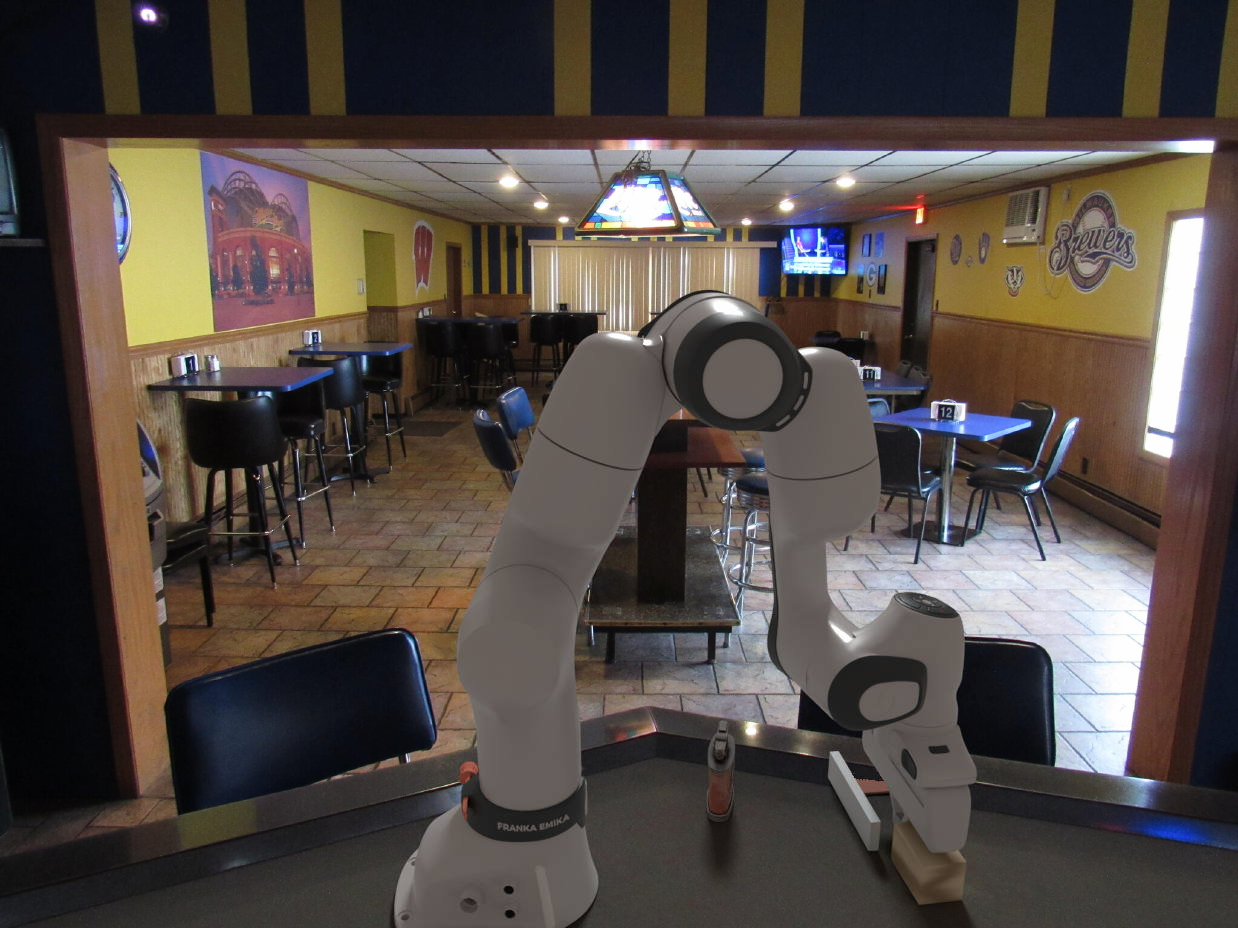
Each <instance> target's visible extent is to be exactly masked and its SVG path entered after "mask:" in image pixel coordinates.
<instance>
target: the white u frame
mask: <svg viewBox="0 0 1238 928" xmlns="http://www.w3.org/2000/svg"><path fill="white" fill-rule="evenodd" d="M852 774H853V773H852V771H851V770H850V768H849V767H848V764H847V762H845V759H844V758H843V756H842V755H841V753H840V751H839V750H837V751H835V750H834V751H829V759H828V772H827V778H828V780H829V782H830V784H831V785H832V787H833V789H834V791H835V793H836V795H837V796H838V798H839V800H840V802H841V804H842V806H843V807H844V809H845V812H846V814H847V815H848V816H849V819H850V820H851V822H852V824H853V826H854V828H855V829H856V831H857V833H858V834H859V837H860V839H861V840H862V842H863V844H864V845H865V847H866V849H867V851H868V852H873V851H879V844H880V836H881V835H880V833H881V832H880V831H881V822H882V821H881V820H880V818H879V816H878V815H877V813H876V812H875V810H874V808H873V807H872V805H871V803H870V802H869V800H868V798H867V796H866V795H864V793H863V791H862V790H861V788H860V786H859V785H858V783H857V781H856V780H855V778H854V776H853V775H852Z"/></svg>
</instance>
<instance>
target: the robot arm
mask: <svg viewBox="0 0 1238 928" xmlns="http://www.w3.org/2000/svg"><path fill="white" fill-rule="evenodd" d="M684 409H685V410H686V411H687V412H688V413H690V415H691V416H692V417H693V418H695V419H696V420H698V422H699V421H700V422H701V423H703V424H705V425H707V426H709V427H712V428H715V429H719V430H722V431H723V430H724V431H728V432H729V431H730V432H746V431H747V432H749V431H750V432H758V434H759V438H760V439H761V445H762V446H761V447H762V454H763V460H764V461H763V462H764V468H765V474H766V481H767V488H768V494H769V503H770V505H769V511H768V538H769V540H768V542H769V554H770V555H769V556H770V563H771V564H770V566H771V567H770V568H771V579H772V580H771V581H772V588H773V589H772V590H773V591H772V593H773V603H772V604H773V606H772V612H771V617H770V621H769V626H768V631H767V636H766V647H767V653H768V656H769V659H770V661H771V663H772V664H773V665H774V666H775V668H776V669H777V670H778V671H780V673H782V674H783V675H784V676H785V677H787V678H788V679H790V680H791V681H792V682H793V683H795V684H796V685H797V686H798V687H799V688H800V689H801V690H802V691H803V692H804V693H805V694H806V695H807V696H808V697H809V698H810V699H811V700H812V701H813V702H814V703H815V704H816V705H817V706H818V707H819V708H820V709H821V710H823V712H825V713H826V714H827V715H828V717H830V718H831V719H832V720H833V721H834V722H835V723H836V724H838V725H839V726H840V727H842V728H844V729H847V730H850V731H853V732H854V731H856V732H857V731H860V732H861V731H862V736H861V737H862V738H861V740H862V741H861V742H862V747H863V751H864V752H865V754H866V756H867V757H868V759H869V760H870V762H871V763H872V765H873V767H875V769H876V772H879V774H880V776H881V777H882V779H883V780H884V782H885V783H886V785H887V786H888V788H889V789H890V790H889V792H890V793H889V797H890V801H891V806H892V807H891V808H892V818H891V819H892V822H893V824H894V823H900V822H911V823H912V825H913V826H914V828H915V829H916V831H917V832H918V834H919V835H920V837H921V839H922V840H923V842H924V843H925V845H926V846H927V848H928V849H929V851H930V852H932V853H946V852H954V851H960V850H962V849H963V848H964V847H965V845H966V841H967V838H968V834H969V833H968V831H969V826H970V817H971V810H972V809H971V808H972V798H971V791H970V788H969V785H972V784H975V783H976V781H977V776H978V774H977V773H978V772H977V771H978V769H977V766H976V763H974V761H973V758H972V756H971V755H970V753H969V751H968V749H967V746H966V743H965V741H964V739H963V735H962V732H961V728H960V726H959V725H958V724H957V723H958V717H959V715H958V714H959V707H958V702H957V692H958V689H959V687H960V685H961V683H962V680H963V673H964V672H963V671H964V661H965V642H966V641H965V628H964V624H963V619H962V616H961V615H960V614H959V612H958V611H957V610H956V609H955V608H954V607H952V606H950V605H949V604H947V603H946V602H944V601H943V600H941V599H939V598H937V597H934V596H931V595H928V594H926V593H921V592H914V591H903V592H897V593H895V594H894V595H892V597H891V599H890V601H889V603H888V606H887V607H886V609H884V611H882V612H881V613H880V614H879V615H878V616H877V617H876V618H874V619H873V620H872V621H871V622H869V623H867V624H866V625H864V626H862V627H859V626H858V625H856V624H854V622H852V621H851V620H850V619H848V617H846V615H844V614H843V613H842V611H840V609H839V608H838V607H837V605H836V604H835V603H834V602H833V600H832V598H831V596H830V594H829V587H828V568H827V567H828V565H827V563H828V562H827V547H826V545H827V544H828V543H832V542H836V541H839V540H841V539H844V538H846V537H850V536H851V535H853V534H855V533H857V532H858V531H859V530H861V529H862V528H864V527H865V526H866V524H868V523H869V521H870V520H871V519H872V518H873V517H874V515H875V514H876V512H877V511H878V508H879V507H880V506H879V505H880V499H881V491H882V489H881V488H882V477H881V476H882V474H881V467H880V457H879V451H878V444H877V443H878V442H877V437H876V431H875V426H874V421H873V415H872V412H871V411H872V410H871V407H870V404H869V400H868V396H867V393H866V390H865V386H864V384H863V381H862V378H861V376H860V373H859V369H858V367H857V365H856V364H855V362H854V361H853V360H852V359H851V358H850V357H849V356H847V355H846V354H845V353H843V352H842V351H839V350H836V349H834V348H829V347H822V346H807V347H802V348H799V349H798V348H797V347H796V345H794V343H793V342H792V341H791V340H790V338H789V337H788V335H787V334H786V333H785V332H784V330H783V329H781V328H780V327H779V326H778V325H777V324H776V323H775V322H774V321H772V320H771V319H770V318H769V317H766V316H765V315H764V314H763V312H762V311H761V310H760V309H758V307H756V306H755V305H753V304H752V303H750V302H749V301H747V300H745V299H743V298H741V297H737V296H735V295H732V294H730V293H727V292H726V291H722V290H716V289H700V290H695V291H691V292H689V293H686V294H683V295H682V296H681V297H679V298H677V299H675V300H674V301H673V302H672V303H670V304H669V305H668V306H667V307H666V308H665V309H663V310H662V311H661V312H660V313H659V314H658V315H656V316H655V317H654V318H653V319H651V320H650V321H649V322H648V323H647V324H645V325H644V326H643V327H642V328H640V330H639V331H638V333H637V335H636V336H635V335H632V334H630V333H624V332H619V331H601V332H596V333H592V334H591V335H588V336H586V337H585V338H584V339H582V340H581V341H580V342H579V344H578V345H577V346H576V347H575V349H574V351H573V352H572V354H571V355H570V357H569V358H568V360H567V362H565V365H564V367H563V369H562V371H561V373H560V374H559V376H558V377H557V380H556V382H555V384H554V385H553V388H552V389H551V391H550V394H549V396H548V398H547V400H546V402H545V404H544V406H543V409H542V412H541V414H540V416H539V419H538V423H537V425H536V428H535V430H534V433H533V435H532V438H531V440H530V444H529V445H528V449H527V452H526V453H525V456H524V460H523V463H522V465H521V468H520V470H519V474H518V475H517V478H516V481H515V484H514V487H513V489H512V490H511V491H512V492H511V494H510V497H509V500H508V503H507V506H506V510H505V513H504V516H503V518H502V521H501V525H500V527H499V530H498V533H497V536H496V539H495V542H494V544H493V548H492V549H491V553H490V556H489V557H488V558H489V559H488V561H487V563H486V566H485V568H484V571H483V573H482V576H481V578H480V581H479V582H478V585H477V587H476V589H475V592H474V593H473V596H472V598H471V601H469V602H470V603H469V605H468V606H467V609H466V612H465V614H464V615H463V618H462V620H461V623H460V625H459V629H458V635H457V647H456V672H457V676H458V679H459V682H460V683H461V686H462V687H463V689H464V690H465V692H466V693H467V694H468V698H469V700H470V701H469V702H470V705H471V708H472V712H473V717H474V724H475V733H476V747H477V750H476V751H477V764H476V762H474V761H466V762H463V763H462V765H461V766H460V768H459V773H460V774H459V777H458V779H459V782H460V784H461V785H462V786H461V789H460V790H461V791H460V803H458V804H457V805H456V806H454V807H452V808H451V809H449V810H447V811H446V812H445V813H443V814H441V815H440V816H438V817H436V818H435V819H433V821H432V822H431V823H430V824H429V825H428V827H427V828H426V830H425V832H424V834H423V836H422V838H421V841H420V844H419V846H418V848H417V849H416V850H415V851H414V852H413V853H412V854H411V856H410V857H409V858H408V859H407V861H406V863H405V864H404V866H403V868H402V870H401V873H400V875H399V877H398V882H397V885H396V890H395V896H394V905H393V906H394V907H393V909H394V910H393V911H394V912H393V913H394V914H393V917H394V918H393V919H394V925H395V928H566V927H568V926H570V925H571V924H572V923H574V922H576V921H577V920H578V919H579V918H581V917H582V916H583V915H584V914H585V913H586V912H587V911H588V909H590V907H591V905H592V904H593V902H594V900H595V898H596V896H597V893H598V888H599V875H598V874H599V873H598V872H597V868H596V866H595V863H594V860H593V858H592V854H591V851H590V847H589V842H588V838H587V832H586V820H587V815H588V788H587V786H588V785H587V779H586V775H585V769H584V767H583V766H582V749H581V748H582V746H581V745H582V744H581V743H582V742H581V737H582V736H581V709H580V705H579V703H578V694H577V692H578V691H577V685H576V683H577V682H576V671H575V646H576V637H577V636H576V634H577V627H578V622H579V618H580V617H579V616H580V612H581V608H582V605H583V601H584V597H585V595H586V592H587V590H588V588H589V586H590V583H591V581H592V579H593V577H594V575H595V573H596V571H597V569H598V566H599V565H600V563H601V561H602V559H603V557H604V555H605V553H606V552H607V549H608V548H609V546H610V544H611V542H612V541H613V540H614V539H615V537H616V534H617V532H618V529H619V528H620V525H621V522H622V520H623V517H624V516H625V512H626V510H627V508H628V506H629V503H630V502H631V499H632V496H633V494H634V491H635V489H636V485H637V484H638V482H639V479H640V476H641V475H642V471H643V470H644V467H645V464H646V462H647V458H648V456H649V454H650V451H651V448H652V445H653V443H654V440H655V438H656V436H657V435H658V434H659V432H660V431H661V429H662V427H663V426H664V425H665V424H666V423H667V421H668V420H670V418H671V417H673V416H675V414H677V413H678V412H679V411H681V410H684Z"/></svg>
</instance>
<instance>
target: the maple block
mask: <svg viewBox="0 0 1238 928" xmlns="http://www.w3.org/2000/svg"><path fill="white" fill-rule="evenodd" d="M893 824H894V825H893V834H892V844H891V854H890V860H891V862H892V863H893V865H894V867H895V868H896V871H898V873H899V875H900V877H901V878H902V880H903V881H904V883H905V884H906V886H907V888H908V890H909V891H910V893H911V894H912V896H913V897H914V899H915V901H916V903H917V904H918V905H919V906H921V905H923V906H924V905H930V904H940V903H947V902H948V903H949V902H956V901H957V902H958V901H963V894H964V886H965V879H966V871H967V870H966V869H967V863H968V862H967V861H966V859H965V858H964V857H963V855H962V854H961V852H960V850H958V851H954V852H946V853H932V852H930V851H929V849H928V848H927V846H926V845H925V843H924V842H923V840H922V839H921V837H920V835H919V834H918V832H917V831H916V829H915V828H914V826H913V825H912V823H911V822H900V823H894V822H893Z"/></svg>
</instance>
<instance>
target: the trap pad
mask: <svg viewBox="0 0 1238 928" xmlns="http://www.w3.org/2000/svg"><path fill="white" fill-rule="evenodd" d="M855 780H856V781H857V783H858V785H859V786H860V788H861V790H862V791H863V793H864V795H865V796H866V795H876V794H877V795H879V794H890V792H889V790H890V789H889V788H888V786H887V785H886V783H885V782H884V781H879V782H878V781H875V780H868V779H866V780H865V779H863V780H862V779H860V780H859V779H856V778H855Z"/></svg>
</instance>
